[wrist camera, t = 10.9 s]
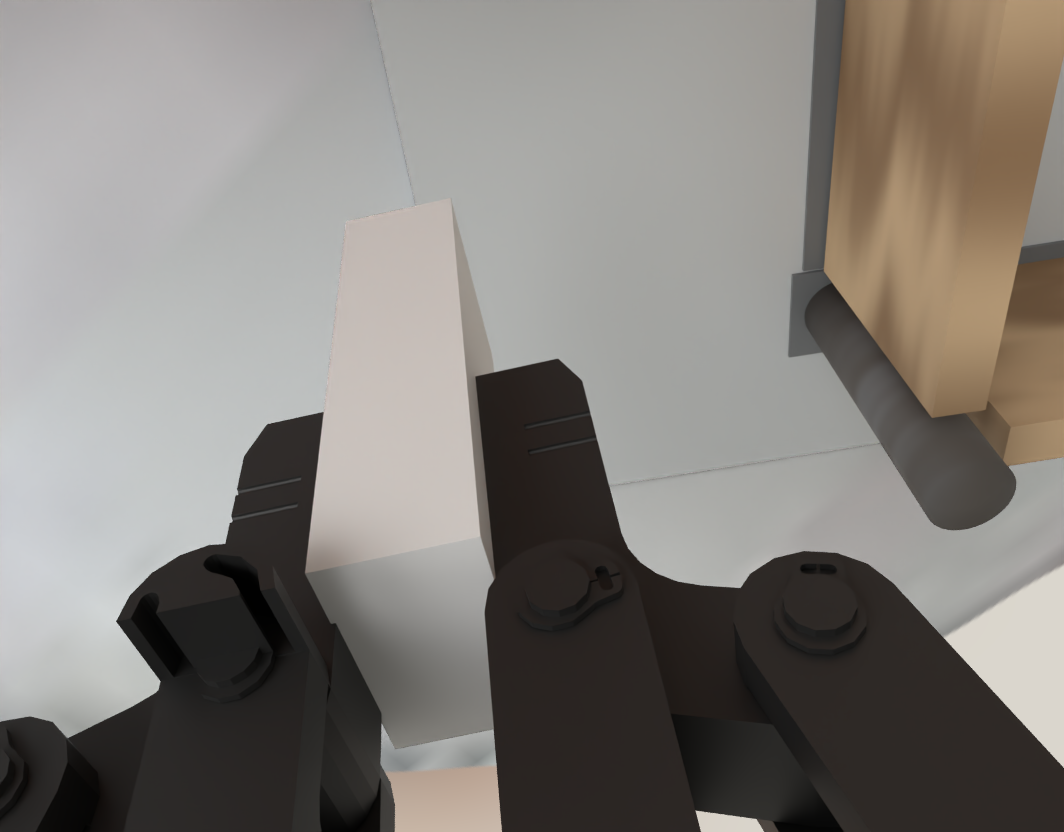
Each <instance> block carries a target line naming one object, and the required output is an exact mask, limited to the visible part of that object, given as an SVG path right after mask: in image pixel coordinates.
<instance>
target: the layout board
mask: <svg viewBox="0 0 1064 832" xmlns="http://www.w3.org/2000/svg"><path fill="white" fill-rule="evenodd" d="M370 2H371V7H372V11H373V16H374V20H375V25H376V29H377V34H378V38H379V43H380V47H381V52H382V56H383V61H384V65H385V70H386V74H387V79H388V83H389V88H390V93H391V97H392V102H393V106H394V111H395V115H396V120H397V124H398V129H399V133H400V138H401V142H402V147H403V151H404V156H405V160H406V165H407V169H408V174H409V179H410V183H411V188H412V192H413V197H414V201H415V206H417V205H421V204H426V203H430V202H435V201H439V200H444V199H448V198H451V200H452V204H453V208H454V212H455V216H456V220H457V223H458V227H459V231H460V235H461V239H462V242H463V246H464V250H465V254H466V258H467V262H468V265H469V269H470V273H471V277H472V281H473V284H474V288H475V292H476V296H477V300H478V303H479V307H480V311H481V315H482V319H483V323H484V326H485V330H486V334H487V338H488V342H489V345H490V349H491V353H492V358H493V366H494V372H498V371H502V370H507V369H512V368H516V367H521V366H526V365H530V364H535V363H539V362H544V361H549V360H553V359H559V360H560V361H562V362H563V363H564V364H565V365H566V366H567V367H568V368H569V369H570V370H571V371H572V372H573V373H575V374H576V375H577V376H578V377H579V378H580V379H581V380H582V382H583V386H584V389H585V393H586V397H587V401H588V405H589V409H590V414H591V417H592V421H593V425H594V429H595V433H596V437H597V441H598V444H599V448H600V452H601V456H602V460H603V464H604V468H605V472H606V476H607V479H608V483H609V486H612V485H619V484H625V483H632V482H638V481H644V480H651V479H657V478H663V477H670V476H676V475H682V474H689V473H695V472H701V471H708V470H714V469H720V468H727V467H733V466H739V465H746V464H752V463H759V462H765V461H771V460H778V459H784V458H790V457H797V456H803V455H809V454H816V453H822V452H828V451H835V450H841V449H847V448H854V447H860V446H866V445H873V444H879V443H880V442H879V440H878V438H877V437H876V435H875V434H874V432H873V431H872V429H871V427H870V426H869V424H868V423H867V421H866V420H865V418H864V416H863V415H862V413H861V412H860V410H859V409H858V407H857V406H856V404H855V402H854V401H853V399H852V398H851V396H850V395H849V393H848V391H847V390H846V388H845V387H844V385H843V384H842V382H841V380H840V379H839V377H838V376H837V374H836V373H835V371H834V369H833V368H832V366H831V365H830V363H829V362H828V360H827V358H826V357H825V355H824V354H823V352H822V351H821V349H820V347H819V346H818V344H817V343H816V341H815V340H814V338H813V336H812V335H811V333H810V332H809V330H808V329H807V327H806V324H805V310H806V307H807V305H808V303H809V301H810V300H811V298H812V297H813V296H814V295H815V294H816V293H817V292H818V291H819V290H820V289H822V288H823V287H825V286H827V285H829V284H831V283H832V282H831V280H830V279H829V278H828V276H827V275H826V274H825V272H824V262H825V250H826V237H827V225H828V212H829V200H830V188H831V175H832V163H833V150H834V138H835V126H836V113H837V101H838V88H839V76H840V64H841V51H842V39H843V26H844V14H845V2H846V0H370ZM1062 257H1064V58H1063V62H1062V67H1061V71H1060V76H1059V80H1058V85H1057V89H1056V94H1055V98H1054V103H1053V107H1052V112H1051V116H1050V121H1049V125H1048V130H1047V134H1046V139H1045V143H1044V148H1043V152H1042V157H1041V161H1040V166H1039V170H1038V175H1037V180H1036V184H1035V189H1034V193H1033V198H1032V202H1031V207H1030V211H1029V216H1028V220H1027V225H1026V229H1025V234H1024V238H1023V243H1022V247H1021V252H1020V256H1019V261H1018V264H1025V263H1031V262H1037V261H1043V260H1050V259H1056V258H1062Z"/></svg>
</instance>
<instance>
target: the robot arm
mask: <svg viewBox="0 0 1064 832" xmlns="http://www.w3.org/2000/svg"><path fill="white" fill-rule="evenodd" d="M237 490H238V495H236V497H235V502H234V506H233V511H232V520H233V522H232V523H230V525H229V530H228V534H227V539H226V544H219V545H208V546H205V547H203V548H200V549H197V550H194V551H191V552H188V553H185V554H183V555H180V556H178V557H177V558H175V559H173V560H172V561H170V562H169V563H167V564H166V565H164V566H162V567H161V568H159V569H158V570H156V571H155V572H153V573H152V574H151V575H150V576H149V577H148V578H147V579H146V580H145V581H144V582H143V583H142V584H141V585H140V586H139V587H138V588H137V589H136V590H135V591H134V592H133V593H132V594H131V595H130V596H129V598H128V600H127V602H126V604H125V606H124V608H123V609H122V611H121V613H120V615H119V617H118V619H117V621H116V622H117V623H118V625H119V626H120V627H121V629H122V630H123V631H124V633H125V634H126V635H127V637H128V638H129V639H130V641H131V642H132V643H133V645H134V646H135V647H136V649H137V650H138V651H139V653H140V654H141V655H142V657H143V658H144V659H145V661H146V662H147V664H148V665H149V666H150V668H151V669H152V670H153V672H154V673H155V674H156V676H157V677H158V678H159V680H160V681H161V682H160V686H159V690H158V691H157V692H156V693H155V694H153V695H151V696H150V697H148V698H146V699H145V700H143V701H141V702H140V703H138V704H136V705H134V706H133V707H131V708H129V709H127V710H125V711H123V712H121V713H119V714H116V715H114V716H112V717H110V718H108V719H106V720H104V721H102V722H100V723H98V724H96V725H94V726H92V727H90V728H88V729H86V730H84V731H82V732H80V733H78V734H76V735H74V736H71V737H69V738H67V737H66V736H65V735H64V734H63V733H62V732H61V731H60V730H59V729H58V728H57V726H56V725H55V724H54V723H53V722H50V721H46V720H42V719H38V718H34V717H24V718H19V719H13V720H7V721H2V722H0V832H394V831H395V803H394V798H393V793H392V788H391V783H390V781H389V779H388V777H387V776H386V774H385V772H384V770H383V768H382V766H381V764H380V757H381V722H382V724H383V726H384V728H385V730H386V732H387V734H388V736H389V738H390V740H391V742H392V744H393V746H394V748H395V749H399V748H404V747H409V746H414V745H418V744H423V743H428V742H433V741H438V740H443V739H448V738H453V737H458V736H463V735H468V734H472V733H477V732H482V731H487V730H492V729H494V738H495V751H496V763H497V775H498V788H499V800H500V812H501V824H502V832H701V831H700V827H699V823H698V819H697V815H696V811H704V812H710V813H718V814H725V815H733V816H740V817H746V818H754V819H757V820H758V822H759V824H760V825H761V827H762V829H763V831H764V832H1064V768H1063V767H1062V765H1061V764H1060V763H1059V762H1057V760H1056V759H1055V758H1054V757H1053V756H1052V755H1051V754H1050V752H1048V750H1047V749H1046V748H1045V747H1044V746H1043V745H1042V744H1041V743H1040V742H1039V741H1038V740H1037V738H1036V737H1035V736H1034V735H1033V734H1032V733H1031V732H1030V731H1029V730H1028V729H1027V728H1026V727H1025V725H1023V723H1022V722H1021V721H1020V720H1019V719H1018V718H1017V717H1016V716H1015V715H1014V714H1013V713H1012V712H1011V710H1010V709H1009V708H1008V707H1007V706H1006V705H1005V704H1004V703H1003V702H1002V701H1001V700H1000V698H999V697H998V696H997V695H996V694H995V693H994V692H993V691H992V690H991V689H990V688H989V687H988V685H987V684H986V683H985V682H984V681H983V680H982V679H981V678H980V677H979V676H978V675H977V674H976V672H975V671H974V670H973V669H972V668H971V667H970V666H969V665H968V664H967V663H966V662H965V661H964V660H963V658H962V657H961V656H960V655H959V654H958V653H957V652H956V651H955V650H954V649H953V648H952V647H951V645H950V644H949V643H948V642H947V641H946V640H945V639H944V638H943V637H942V636H941V635H940V634H939V632H938V631H937V630H936V629H935V628H934V627H933V626H932V625H931V624H930V623H929V622H928V621H927V619H926V618H925V617H924V616H923V615H922V614H921V613H920V612H919V611H918V610H917V609H916V608H915V607H914V605H913V604H912V603H911V602H910V601H909V600H908V599H907V598H906V597H905V596H904V595H903V594H902V592H901V591H900V590H899V589H898V588H897V587H896V586H895V585H894V584H893V583H892V582H891V581H889V580H888V579H887V578H885V577H884V576H883V575H882V574H880V573H879V572H878V571H876V570H875V569H874V568H872V567H871V566H870V565H868V564H866V563H864V562H861V561H858V560H855V559H852V558H849V557H847V556H844V555H841V554H838V553H827V552H809V551H803V552H799V553H795V554H790V555H786V556H782V557H778V558H774V559H772V560H771V561H769V562H768V563H766V564H765V565H763V566H762V567H760V568H759V569H757V570H755V571H754V572H752V573H751V574H750V575H749V577H748V578H747V580H746V581H745V583H744V584H743V586H742V587H741V588H730V587H715V586H701V585H695V584H688V583H682V582H677V581H674V580H672V579H669V578H667V577H664V576H661V575H659V574H656V573H655V572H653V571H652V570H651V569H649V568H648V567H646V566H645V565H643V564H642V563H640V562H639V561H638V560H637V558H636V557H635V556H634V555H633V554H632V553H631V551H630V550H629V549H628V547H627V545H626V543H625V541H624V538H623V536H622V534H621V530H620V526H619V522H618V519H617V515H616V511H615V507H614V503H613V499H612V495H611V491H610V487H609V483H608V479H607V476H606V472H605V468H604V464H603V460H602V456H601V452H600V448H599V444H598V441H597V437H596V433H595V429H594V425H593V421H592V417H591V414H590V409H589V405H588V401H587V397H586V393H585V389H584V386H583V382H582V380H581V379H580V378H579V377H578V376H577V375H576V374H575V373H573V372H572V371H571V370H570V369H569V368H568V367H567V366H566V365H565V364H564V363H563V362H562V361H560V360H559V359H553V360H549V361H544V362H539V363H535V364H530V365H526V366H521V367H516V368H512V369H507V370H502V371H498V372H494V366H493V358H492V353H491V349H490V345H489V342H488V338H487V334H486V330H485V326H484V323H483V319H482V315H481V311H480V307H479V303H478V300H477V296H476V292H475V288H474V284H473V281H472V277H471V273H470V269H469V265H468V262H467V258H466V254H465V250H464V246H463V242H462V239H461V235H460V231H459V227H458V223H457V220H456V216H455V212H454V208H453V204H452V200H451V198H448V199H444V200H439V201H435V202H430V203H426V204H421V205H417V206H412V207H408V208H403V209H399V210H394V211H390V212H385V213H381V214H376V215H372V216H367V217H363V218H358V219H354V220H349V221H346V226H345V234H344V243H343V252H342V260H341V269H340V277H339V286H338V294H337V303H336V312H335V320H334V329H333V337H332V346H331V355H330V363H329V372H328V380H327V389H326V398H325V406H324V412H322V413H317V414H313V415H308V416H303V417H299V418H294V419H290V420H285V421H280V422H276V423H271V424H267V425H266V427H265V428H264V430H263V431H262V432H261V434H260V435H259V436H258V438H257V439H256V441H255V442H254V443H253V445H252V446H251V448H250V449H249V450H248V452H247V453H246V455H245V456H244V460H243V464H242V469H241V474H240V478H239V483H238V488H237ZM695 810H696V811H695Z"/></svg>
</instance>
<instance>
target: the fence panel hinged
mask: <svg viewBox="0 0 1064 832" xmlns="http://www.w3.org/2000/svg"><path fill="white" fill-rule="evenodd" d="M1063 58H1064V0H846V2H845V14H844V26H843V39H842V51H841V64H840V76H839V88H838V101H837V113H836V126H835V138H834V150H833V163H832V175H831V188H830V200H829V212H828V225H827V237H826V250H825V262H824V272H825V274H826V275H827V276H828V278H829V279H830V280H831V282H832V283H833V284H834V286H835V287H836V288H837V290H838V291H839V293H840V294H841V295H842V297H843V298H844V299H845V301H846V302H847V303H848V305H849V306H850V307H851V309H852V310H853V312H854V313H855V314H856V316H857V317H858V318H859V320H860V321H861V322H862V324H863V325H864V326H865V328H866V329H867V331H868V332H869V333H870V335H871V336H872V337H873V339H874V340H875V341H876V343H877V344H878V345H879V347H880V348H881V350H882V351H883V352H884V354H885V355H886V356H887V358H888V359H889V360H890V362H891V363H892V364H893V366H894V367H895V369H896V370H897V371H898V373H899V374H900V375H901V377H902V378H903V379H904V381H905V382H906V383H907V385H908V386H909V388H910V389H911V390H912V392H913V393H914V394H915V396H916V397H917V398H918V400H919V401H920V402H921V404H922V405H923V407H924V408H925V409H926V411H927V412H928V413H929V415H930V416H931V417H932V418H935V417H941V416H948V415H955V414H962V413H968V412H975V411H982V410H986V405H987V401H988V396H989V392H990V387H991V383H992V378H993V374H994V369H995V365H996V360H997V356H998V351H999V347H1000V342H1001V338H1002V333H1003V329H1004V324H1005V320H1006V315H1007V311H1008V306H1009V301H1010V297H1011V292H1012V288H1013V283H1014V279H1015V274H1016V270H1017V265H1018V261H1019V256H1020V252H1021V247H1022V243H1023V238H1024V234H1025V229H1026V225H1027V220H1028V216H1029V211H1030V207H1031V202H1032V198H1033V193H1034V189H1035V184H1036V180H1037V175H1038V170H1039V166H1040V161H1041V157H1042V152H1043V148H1044V143H1045V139H1046V134H1047V130H1048V125H1049V121H1050V116H1051V112H1052V107H1053V103H1054V98H1055V94H1056V89H1057V85H1058V80H1059V76H1060V71H1061V67H1062V62H1063Z"/></svg>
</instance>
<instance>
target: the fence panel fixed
mask: <svg viewBox="0 0 1064 832" xmlns="http://www.w3.org/2000/svg"><path fill="white" fill-rule="evenodd" d="M805 324H806V327H807V329H808V330H809V332H810V333H811V335H812V336H813V338H814V340H815V341H816V343H817V344H818V346H819V347H820V349H821V351H822V352H823V354H824V355H825V357H826V358H827V360H828V362H829V363H830V365H831V366H832V368H833V369H834V371H835V373H836V374H837V376H838V377H839V379H840V380H841V382H842V384H843V385H844V387H845V388H846V390H847V391H848V393H849V395H850V396H851V398H852V399H853V401H854V402H855V404H856V406H857V407H858V409H859V410H860V412H861V413H862V415H863V416H864V418H865V420H866V421H867V423H868V424H869V426H870V427H871V429H872V431H873V432H874V434H875V435H876V437H877V438H878V440H879V442H880V443H881V445H882V446H883V448H884V449H885V451H886V453H887V454H888V456H889V457H890V459H891V460H892V462H893V464H894V465H895V467H896V468H897V470H898V471H899V473H900V475H901V476H902V478H903V479H904V481H905V482H906V484H907V486H908V487H909V489H910V490H911V492H912V493H913V495H914V497H915V498H916V500H917V501H918V503H919V504H920V506H921V507H922V509H923V511H924V512H925V514H926V515H927V517H928V518H929V520H930V521H931V522H932V523H933V524H934V525H936V526H938V527H940V528H943V529H947V530H963V529H968V528H972V527H976V526H978V525H981V524H983V523H985V522H987V521H989V520H990V519H992V518H994V517H995V516H996V515H998V514H999V513H1000V512H1001V511H1002V510H1003V509H1004V508H1005V507H1006V506H1007V505H1008V504H1009V502H1010V501H1011V499H1012V497H1013V495H1014V493H1015V490H1016V479H1015V476H1014V474H1013V472H1012V471H1011V470H1010V468H1009V467H1008V466H1010V465H1017V464H1023V463H1030V462H1036V461H1042V460H1049V459H1055V458H1061V457H1064V257H1062V258H1056V259H1050V260H1043V261H1037V262H1031V263H1025V264H1018V265H1017V270H1016V274H1015V279H1014V283H1013V288H1012V292H1011V297H1010V301H1009V306H1008V311H1007V315H1006V320H1005V324H1004V329H1003V333H1002V338H1001V342H1000V347H999V351H998V356H997V360H996V365H995V369H994V374H993V378H992V383H991V387H990V392H989V396H988V401H987V405H986V410H982V411H975V412H968V413H962V414H955V415H948V416H941V417H935V418H932V417H931V416H930V415H929V413H928V412H927V411H926V409H925V408H924V407H923V405H922V404H921V402H920V401H919V400H918V398H917V397H916V396H915V394H914V393H913V392H912V390H911V389H910V388H909V386H908V385H907V383H906V382H905V381H904V379H903V378H902V377H901V375H900V374H899V373H898V371H897V370H896V369H895V367H894V366H893V364H892V363H891V362H890V360H889V359H888V358H887V356H886V355H885V354H884V352H883V351H882V350H881V348H880V347H879V345H878V344H877V343H876V341H875V340H874V339H873V337H872V336H871V335H870V333H869V332H868V331H867V329H866V328H865V326H864V325H863V324H862V322H861V321H860V320H859V318H858V317H857V316H856V314H855V313H854V312H853V310H852V309H851V307H850V306H849V305H848V303H847V302H846V301H845V299H844V298H843V297H842V295H841V294H840V293H839V291H838V290H837V288H836V287H835V286H834V284H833V283H831V284H829V285H827V286H825V287H823V288H822V289H820V290H819V291H818V292H817V293H816V294H815V295H814V296H813V297H812V298H811V300H810V301H809V303H808V305H807V307H806V310H805Z"/></svg>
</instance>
